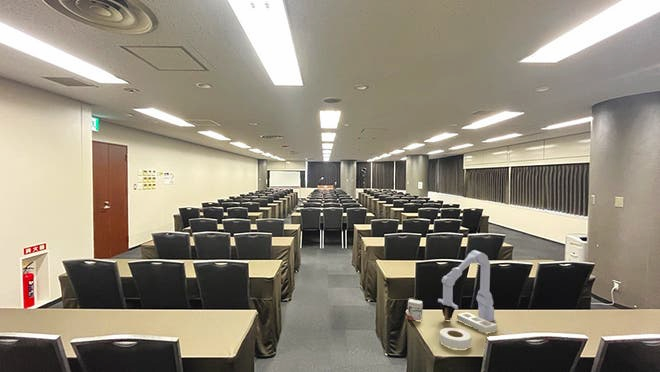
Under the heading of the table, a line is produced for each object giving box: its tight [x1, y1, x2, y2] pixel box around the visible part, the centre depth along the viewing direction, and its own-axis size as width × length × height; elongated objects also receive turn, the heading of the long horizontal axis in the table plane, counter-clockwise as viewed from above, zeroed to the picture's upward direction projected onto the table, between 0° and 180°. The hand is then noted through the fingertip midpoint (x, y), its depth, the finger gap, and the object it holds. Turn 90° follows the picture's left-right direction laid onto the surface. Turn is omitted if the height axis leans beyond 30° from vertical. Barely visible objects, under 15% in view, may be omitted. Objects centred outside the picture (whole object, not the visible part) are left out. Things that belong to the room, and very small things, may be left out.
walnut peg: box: [444, 307, 452, 321], centre depth 205 cm, size 4×4×8 cm
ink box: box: [407, 298, 424, 321], centre depth 207 cm, size 9×5×12 cm, turn 62°
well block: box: [456, 312, 498, 333], centre depth 198 cm, size 9×21×4 cm, turn 27°
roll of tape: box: [439, 327, 472, 349], centre depth 176 cm, size 16×16×6 cm
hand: (447, 316), depth 205 cm, fingers closed on walnut peg, 3 cm apart
